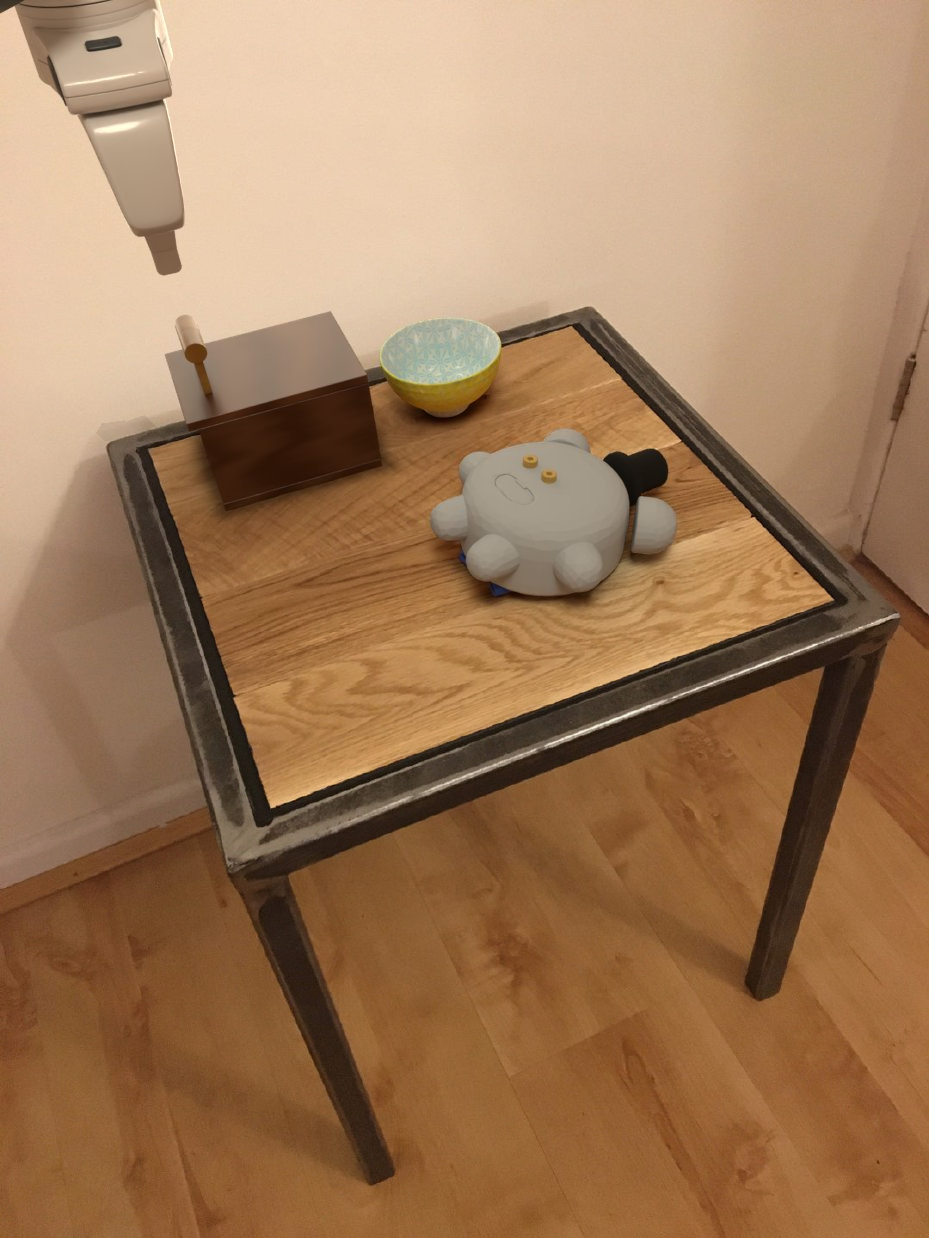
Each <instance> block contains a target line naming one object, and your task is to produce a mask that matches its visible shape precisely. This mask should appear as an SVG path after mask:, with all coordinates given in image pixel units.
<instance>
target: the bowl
mask: <svg viewBox="0 0 929 1238" xmlns="http://www.w3.org/2000/svg"><path fill="white" fill-rule="evenodd" d="M501 340H502V339H500V336H499V334H498V333H497V332H496V331H495V330H494V329H493V328H492V327H490V326H488V325H486V324H485V323H483V322H480V321H477V320H474V319H470V318H465V317H453V316H452V317H451V316H449V317H447V316H446V317H445V316H444V317H433V318H428V319H422V320H419V321H416V322H413V323H409V324H407V325H405V326H404V327H402V328H399V329H397V330H396V331H394V332H393V333H392V334H391V335H389V336H388V337H387V339H385V341H384V342H383V344H382V345H381V348H380V350H379V357H378V358H379V364H380V367H381V370H382V373H383V375H384V378H385V380H386V382H387V383H388V385H389V387H391V389H392V390H393V392H394V393H395V394H396V395H397V396H398V397H399V398H401V399H402V400H403V401H404V402H406V403H407V404H409V405H411V406H412V407H415V408H417V409H420V410H424V411H425V412H426V413H427V414H428V415H430V416H432V417H435V418H450V417H451V418H452V417H455V416H458V415H460V414H461V413H463V412H465V411H466V410H467V409H468V407H469V405H470V404H473V402H475V401H477V400H478V399H479V398H481V397H482V396H483V395H484V393H485V392H486V391H488V389H490V387H491V386H492V383H493V382H494V380H495V377H496V376H497V373H498V370H499V366H500V363H501V358H502V341H501Z"/></svg>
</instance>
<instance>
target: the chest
mask: <svg viewBox="0 0 929 1238" xmlns="http://www.w3.org/2000/svg"><path fill="white" fill-rule="evenodd" d="M372 402H373V401H372V395H371V389H370V383H369V382H368V383H365V384H361V385H358V386H354V387H350V388H347V389H343V390H339V391H336V392H332V393H328V394H325V395H321V396H318V397H314V398H310V399H307V400H303V401H299V402H296V403H292V404H288V405H285V406H281V407H277V408H274V409H270V410H267V411H263V412H259V413H256V414H252V415H248V416H245V417H241V418H237V419H234V420H230V421H227V422H223V423H219V424H216V425H212V426H208V427H205V428H201V429H198V433H199V435H200V439H201V441H202V444H203V447H204V451H205V453H206V456H207V459H208V462H209V465H210V468H211V471H212V474H213V477H214V480H215V484H216V487H217V489H218V492H219V496H220V498H221V501H222V505H223V507H224V510H225V511H227V512H228V511H230V510H234V509H237V508H241V507H244V506H247V505H252V504H254V503H259V502H262V501H264V500H268V499H273V498H275V497H278V496H279V497H280V496H282V495H285V494H290V493H292V492H296V491H299V490H302V489H307V488H309V487H312V486H316V485H317V486H318V485H320V484H323V483H327V482H330V481H333V480H337V479H341V478H344V477H347V476H350V475H351V476H352V475H355V474H358V473H361V472H365V471H369V470H371V469H372V470H373V469H376V468H379V467H382V466H383V461H382V455H381V449H380V443H379V437H378V430H377V425H376V419H375V413H374V412H375V411H374V406H373V403H372Z"/></svg>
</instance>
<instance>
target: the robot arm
mask: <svg viewBox="0 0 929 1238" xmlns="http://www.w3.org/2000/svg"><path fill="white" fill-rule="evenodd" d="M12 8H14V9H15V11H16V15H17V18H18V20H19V23H20V27H21V29H22V32H23V35H24V38H25V40H26V43H27V46H28V49H29V52H30V55H31V58H32V60H33V63H34V67H35V70H36V73H37V75H38V78H39V79H40V81H42V82H43V83H44V84H46V85H48V86H50V87H51V88H52V89H53V90H54V92H56V93H57V95H58V96H59V97H60V98H61V100H62V102H63V103H64V106H65V107H66V108H67V111H68V113H69V114H70V115H71V116H77V118H78V120H79V121H80V123H81V126H82V128H83V129H84V132H85V133H86V136H87V138H88V140H89V142H90V144H91V147H92V149H93V151H94V153H95V155H96V158H97V160H98V163H99V164H100V167H101V169H102V172H103V174H104V175H105V178H106V179H105V180H107V184H108V185H109V188H110V190H111V192H112V195H113V197H114V199H115V202H116V203H117V206H118V209H119V210H120V212H121V214H122V216H123V219H124V220H125V221H124V222H125V223H126V225H127V226H128V229H129V230H130V232H132V234H133V235H134V236H135V237H137V238H144V239H145V241H146V244H147V247H148V249H149V251H150V255H151V258H152V261H153V264H154V266H155V270H156V272H157V274H158V275H160V276H164V277H165V276H168V275H173V274H177V273H179V272H181V270H182V267H183V265H182V261H181V258H180V255H179V251H178V247H177V239H176V231H178V230H180V229H182V228H183V227H185V223H186V207H185V199H184V192H183V187H182V186H183V185H182V181H181V180H182V179H181V175H180V169H179V163H178V157H177V152H176V146H175V141H174V135H173V130H172V129H173V128H172V124H171V118H170V114H169V109H168V105H167V99H170V98H172V97H173V95H174V91H173V85H172V79H171V75H170V68H171V63H172V61H173V59H174V53H173V49H172V46H171V41H170V36H169V33H168V29H167V24H166V21H165V18H164V14H163V8H162V5H161V1H160V0H0V14H3V13H5V12H6V11H8V10H10V9H12Z"/></svg>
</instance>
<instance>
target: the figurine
mask: <svg viewBox="0 0 929 1238" xmlns="http://www.w3.org/2000/svg"><path fill="white" fill-rule="evenodd" d="M668 477H669V466H668V462H667V459H666V458H665V456H664V455H663V453H662V452H661V451H660V450H658V449H656V448H651V447H650V448H649V447H648V448H645V449H642V450H639V451H637V452H634V453H631V454H627V453H625V452H624V451H613V452H609V453H608V454H606V456H604V457H603V459H601V458H600V457H598V456H596V455H594V454H592V452H591V446H590V443H589V441H588V439H587V437H585V435H583V434H582V433H580V432H579V431H578V430H575V429H572V428H557V429H555V430H553V431H552V432H550V433H549V434H547V435H546V436H545V437H544V439H543V440H542V441H533V442H524V443H520V444H515V445H511V446H506V447H504V448H502V449H498V450H497V451H493V452H492V453H490V452H487V451H482V450H481V451H478V450H477V451H473V452H471V453H469V454H467V455H465V456H464V458H463V459H462V460H461V461H460V464H459V467H458V478H459V480H460V483H461V484H462V491H461V494H459V495H456V496H453V497H449V498H447V499H445V500H443V501H441V502H439V503H437V505H435V506H434V507H433V509H432V510H431V511H430V514H429V524H430V529H431V530H432V532H433V534H434V535H435V537H437V538H438V539H439V540H441V541H444V542H456V541H457V542H459V541H460V546H461V549H462V550H461V551H460V552H459V555H458V556H459V559H460V561H461V562H462V563H463V564H465V565H466V568H467V571H468V572H469V574H470V575H471V576H472V577H473V578H474V579H476V580H479V581H482V582H488V585H489V588H490V591H491V594H492V595H493V596H494V597H498V596H503V595H505V594H508V593H511V592H515V593H518V594H522V595H527V596H535V597H557V596H566V595H570V594H574V593H585V592H589V591H591V590H593V589H594V588H596V586H598V585H599V584H600V582H601V581H604V580H605V579H606V578H608V576H609V575H611V574H612V573H613V572H614V570H615V569H616V568H617V566H618V565H619V563H620V561H621V559H622V556H623V553H624V549H625V542H626V538H627V532H628V525H629V519H630V508H631V507H634V506H635V505H636V506H635V510H634V516H633V521H632V531H631V543H630V549H631V553H633V554H643V555H653V554H658V553H660V552H662V551H664V550H666V549H668V548H669V547H670V546H671V545H672V543H673V542H674V541H675V538H676V535H677V531H678V517H677V514H676V511H675V510H674V509H673V507H672V506H671V505H669V504H668V503H667V502H666V501H665V500H662V499H660V498H657V497H652V496H643V495H642V494H646V493H648V492H650V491H653V490H655V489H657V488H660V487H663V486H664V484H666V483H667V480H668Z"/></svg>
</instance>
